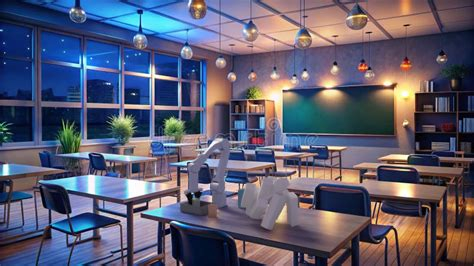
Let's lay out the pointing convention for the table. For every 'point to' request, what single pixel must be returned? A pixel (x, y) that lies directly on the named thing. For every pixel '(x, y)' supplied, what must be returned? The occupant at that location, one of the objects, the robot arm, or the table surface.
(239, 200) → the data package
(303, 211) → the table surface
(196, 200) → the sage cube
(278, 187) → the pile of blocks
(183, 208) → the tote
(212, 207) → the terracotta cylinder
